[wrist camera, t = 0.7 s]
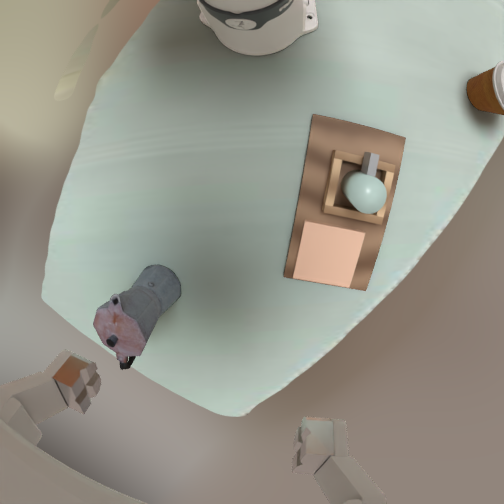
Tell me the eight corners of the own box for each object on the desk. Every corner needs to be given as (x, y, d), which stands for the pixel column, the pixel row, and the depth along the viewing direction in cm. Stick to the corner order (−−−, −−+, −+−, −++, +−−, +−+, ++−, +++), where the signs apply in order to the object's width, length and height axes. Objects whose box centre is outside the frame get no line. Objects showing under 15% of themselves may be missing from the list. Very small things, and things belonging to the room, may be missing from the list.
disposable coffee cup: (462, 60, 30) (499, 47, 19) (498, 85, 30) (538, 81, 19) (456, 104, 34) (496, 101, 23) (492, 128, 34) (534, 132, 23)
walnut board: (312, 114, 39) (314, 112, 36) (403, 137, 38) (411, 138, 35) (283, 274, 50) (283, 283, 47) (364, 288, 49) (368, 298, 46)
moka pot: (183, 253, 51) (130, 315, 33) (186, 322, 57) (148, 393, 39) (137, 247, 52) (73, 300, 34) (144, 313, 58) (98, 377, 40)
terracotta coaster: (304, 219, 45) (304, 221, 44) (364, 231, 44) (365, 233, 43) (292, 275, 49) (292, 278, 48) (348, 285, 48) (349, 287, 47)
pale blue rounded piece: (348, 147, 40) (359, 149, 33) (378, 155, 39) (394, 159, 32) (338, 197, 43) (347, 209, 36) (368, 204, 42) (381, 217, 36)
